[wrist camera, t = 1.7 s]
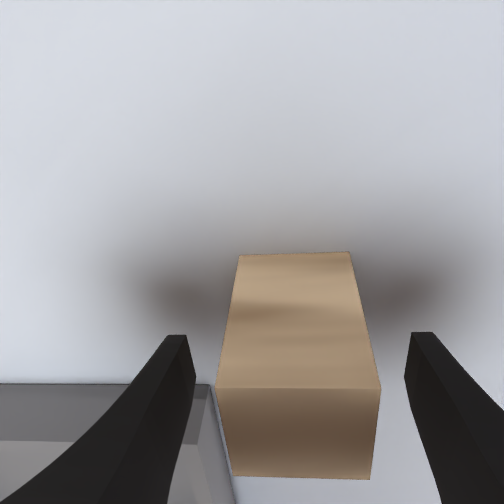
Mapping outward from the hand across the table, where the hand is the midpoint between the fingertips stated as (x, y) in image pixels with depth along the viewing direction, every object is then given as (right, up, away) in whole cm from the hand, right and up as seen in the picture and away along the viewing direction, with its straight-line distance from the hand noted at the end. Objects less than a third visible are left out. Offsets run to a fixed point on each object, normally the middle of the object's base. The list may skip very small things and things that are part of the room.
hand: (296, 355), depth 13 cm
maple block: (0, +2, +3) cm, 3 cm away
